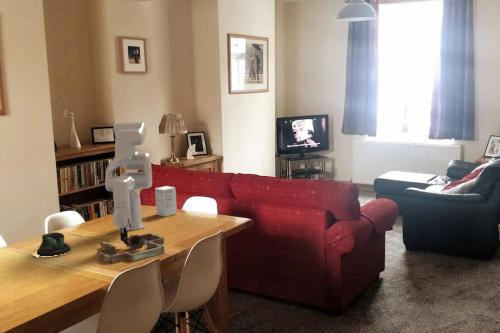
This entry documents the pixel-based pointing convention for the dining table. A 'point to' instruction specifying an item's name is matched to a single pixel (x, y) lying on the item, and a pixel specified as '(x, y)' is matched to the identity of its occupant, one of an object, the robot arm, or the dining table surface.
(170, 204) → the supplement box
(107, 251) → the trap lane
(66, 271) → the dining table surface
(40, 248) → the dark green fedora
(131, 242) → the pottery mug
